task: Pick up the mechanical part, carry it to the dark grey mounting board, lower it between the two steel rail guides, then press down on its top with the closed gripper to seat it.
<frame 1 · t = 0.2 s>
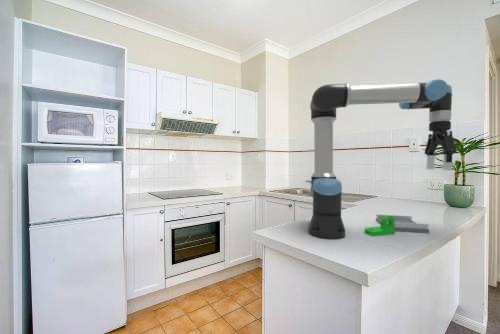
hand: (438, 169, 104), 28 cm above the table, tool pointing down, fingers open, 13 cm apart
mounting board: (400, 226, 113), on the table
mechanical part: (377, 233, 103), on the table
rail guides: (400, 221, 113), on the mounting board, point 2 cm above the table
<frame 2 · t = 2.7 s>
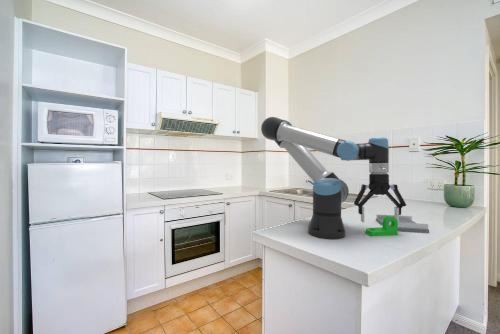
hand: (379, 222, 103), 5 cm above the table, tool pointing down, fingers open, 13 cm apart
mechanical part: (379, 234, 102), on the table
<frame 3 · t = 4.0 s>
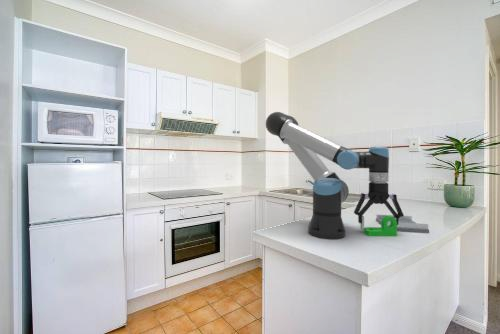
hand: (377, 231, 103), 0 cm above the table, tool pointing down, fingers closed on mechanical part, 12 cm apart
mechanical part: (378, 234, 101), on the table, touching gripper
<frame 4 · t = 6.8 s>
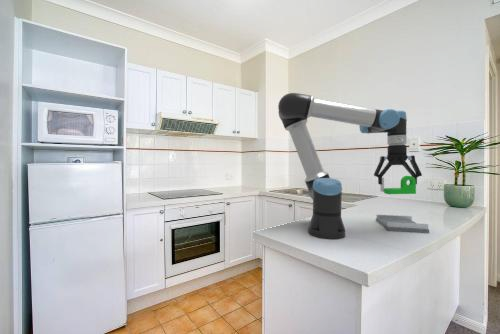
hand: (397, 191, 110), 17 cm above the table, tool pointing down, fingers closed on mechanical part, 12 cm apart
mechanical part: (398, 193, 108), point 16 cm above the table, touching gripper
when the fingers open (3 cm above the table, at t = 9.5 s): mechanical part drops 1 cm, resting on mounting board.
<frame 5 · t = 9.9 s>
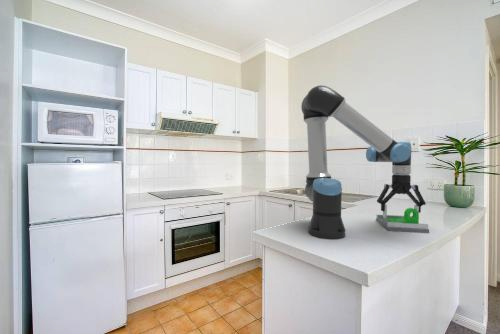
hand: (400, 218, 113), 4 cm above the table, tool pointing down, fingers open, 13 cm apart
mechanical part: (401, 224, 111), point 1 cm above the table, touching mounting board
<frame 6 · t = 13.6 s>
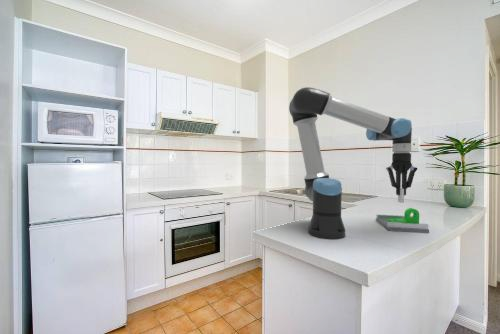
hand: (400, 202, 113), 12 cm above the table, tool pointing down, fingers closed
nothing on the table moved.
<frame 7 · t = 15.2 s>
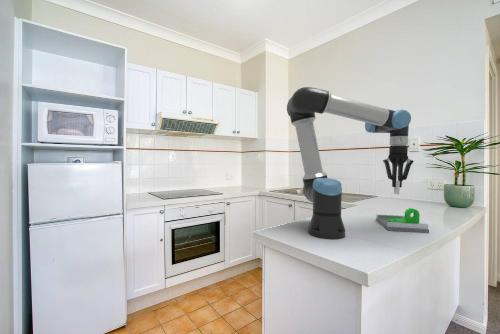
hand: (396, 194, 115), 15 cm above the table, tool pointing down, fingers closed
nothing on the table moved.
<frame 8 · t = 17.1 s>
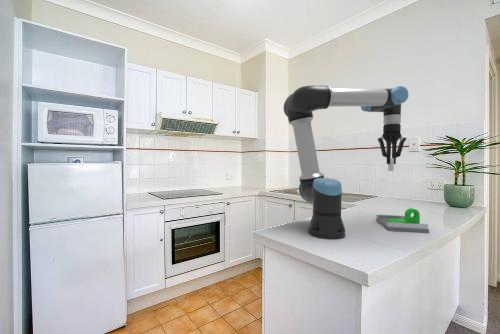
hand: (390, 170, 120), 26 cm above the table, tool pointing down, fingers closed
nothing on the table moved.
at the end: mechanical part 2.3 cm off-centre on the mounting board, point 1.3 cm above the mounting board's base; mechanical part tilted 0°; the gripper is holding nothing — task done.
